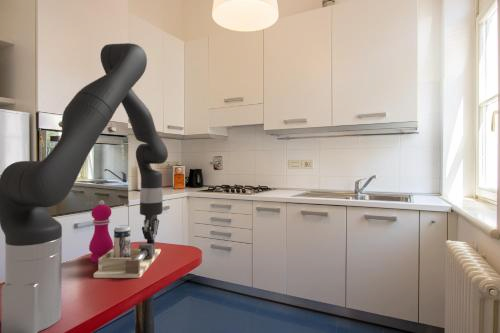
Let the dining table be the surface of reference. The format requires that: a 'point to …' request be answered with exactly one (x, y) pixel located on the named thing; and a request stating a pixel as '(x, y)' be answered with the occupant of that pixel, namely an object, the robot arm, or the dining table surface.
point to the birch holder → (125, 263)
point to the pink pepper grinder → (100, 232)
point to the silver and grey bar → (144, 254)
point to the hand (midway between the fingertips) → (150, 249)
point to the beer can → (122, 241)
